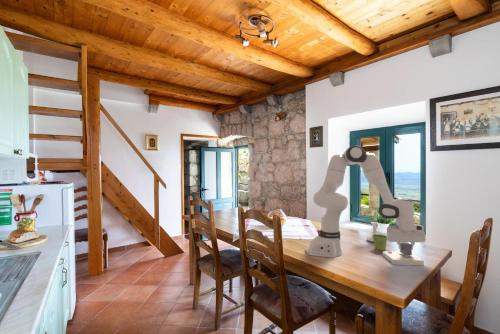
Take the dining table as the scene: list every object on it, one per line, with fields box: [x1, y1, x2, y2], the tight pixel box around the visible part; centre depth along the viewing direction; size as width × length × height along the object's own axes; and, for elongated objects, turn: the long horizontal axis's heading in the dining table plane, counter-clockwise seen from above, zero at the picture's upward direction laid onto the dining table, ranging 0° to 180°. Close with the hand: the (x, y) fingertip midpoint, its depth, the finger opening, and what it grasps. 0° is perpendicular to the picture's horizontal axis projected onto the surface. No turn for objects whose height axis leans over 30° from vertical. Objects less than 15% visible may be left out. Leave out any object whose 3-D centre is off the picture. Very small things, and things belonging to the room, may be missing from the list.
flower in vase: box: [363, 207, 379, 243], centre depth 179 cm, size 13×11×25 cm
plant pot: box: [372, 233, 388, 251], centre depth 163 cm, size 9×9×9 cm
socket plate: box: [382, 250, 425, 266], centre depth 143 cm, size 16×14×3 cm
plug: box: [399, 242, 413, 255], centre depth 143 cm, size 4×5×6 cm
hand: (405, 249), depth 143 cm, fingers closed on plug, 4 cm apart
